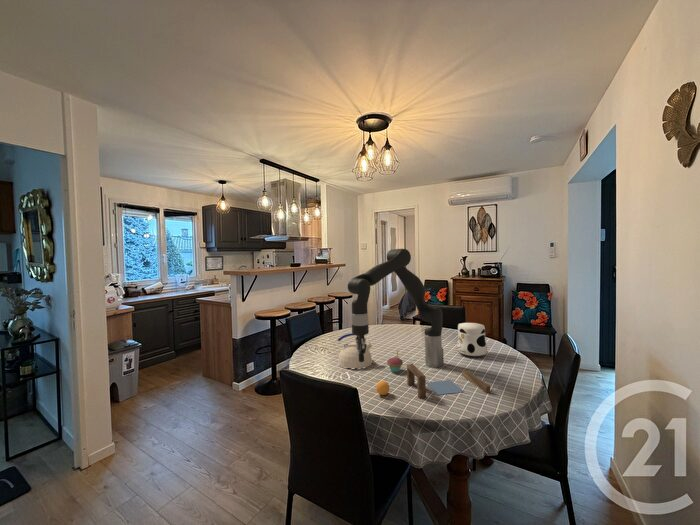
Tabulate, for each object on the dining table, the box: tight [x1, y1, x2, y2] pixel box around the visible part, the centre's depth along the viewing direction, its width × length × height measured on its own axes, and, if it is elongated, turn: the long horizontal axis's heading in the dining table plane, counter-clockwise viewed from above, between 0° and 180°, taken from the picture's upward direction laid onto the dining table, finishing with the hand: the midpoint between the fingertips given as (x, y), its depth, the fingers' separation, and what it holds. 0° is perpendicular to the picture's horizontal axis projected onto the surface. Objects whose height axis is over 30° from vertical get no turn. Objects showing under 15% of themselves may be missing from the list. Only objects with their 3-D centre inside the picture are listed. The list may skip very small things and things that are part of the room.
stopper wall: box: [461, 369, 491, 394], centre depth 142 cm, size 2×20×3 cm, turn 9°
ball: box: [375, 380, 390, 396], centre depth 134 cm, size 6×6×6 cm
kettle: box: [337, 332, 373, 369], centre depth 175 cm, size 20×21×18 cm
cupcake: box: [386, 349, 404, 373], centre depth 161 cm, size 9×8×12 cm
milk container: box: [456, 322, 488, 358], centre depth 183 cm, size 17×17×18 cm
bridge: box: [406, 363, 427, 399], centre depth 137 cm, size 3×15×10 cm, turn 10°
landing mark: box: [426, 379, 465, 396], centre depth 139 cm, size 13×13×1 cm
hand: (361, 361), depth 132 cm, fingers closed
